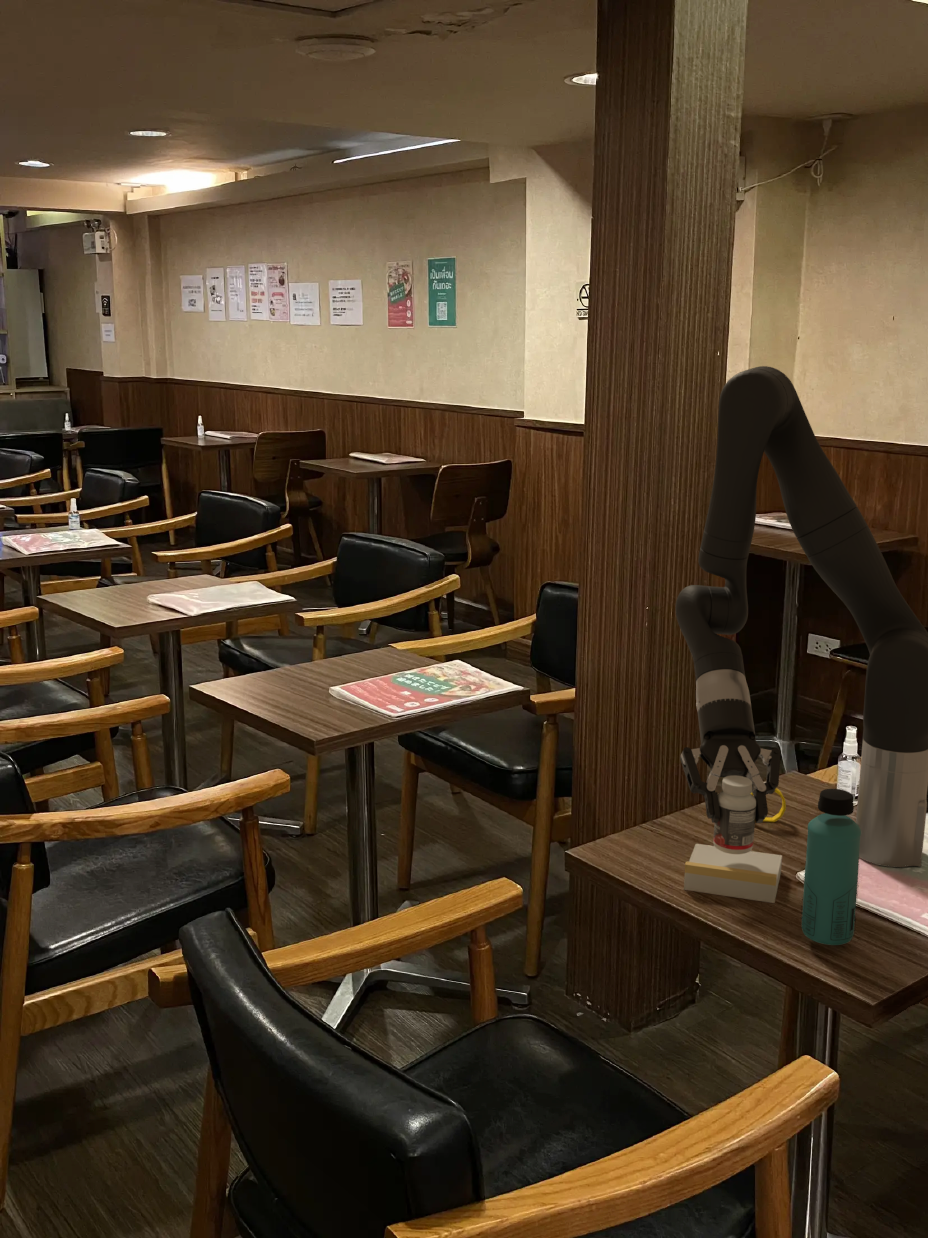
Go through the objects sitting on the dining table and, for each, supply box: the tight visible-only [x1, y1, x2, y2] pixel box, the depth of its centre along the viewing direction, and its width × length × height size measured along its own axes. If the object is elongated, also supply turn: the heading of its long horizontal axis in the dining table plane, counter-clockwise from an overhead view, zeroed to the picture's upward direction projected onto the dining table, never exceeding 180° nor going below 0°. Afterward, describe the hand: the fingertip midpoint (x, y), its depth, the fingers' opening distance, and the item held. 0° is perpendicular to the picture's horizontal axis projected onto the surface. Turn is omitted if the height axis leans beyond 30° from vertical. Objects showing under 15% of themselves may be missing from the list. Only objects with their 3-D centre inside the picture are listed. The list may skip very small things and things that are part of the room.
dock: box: [683, 843, 783, 904], centre depth 165 cm, size 12×10×4 cm
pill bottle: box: [712, 775, 756, 854], centre depth 163 cm, size 5×5×10 cm
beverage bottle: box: [800, 788, 861, 946], centre depth 146 cm, size 6×7×20 cm
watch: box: [751, 781, 787, 823], centre depth 185 cm, size 6×3×6 cm, turn 83°
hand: (738, 820), depth 161 cm, fingers closed on pill bottle, 5 cm apart
